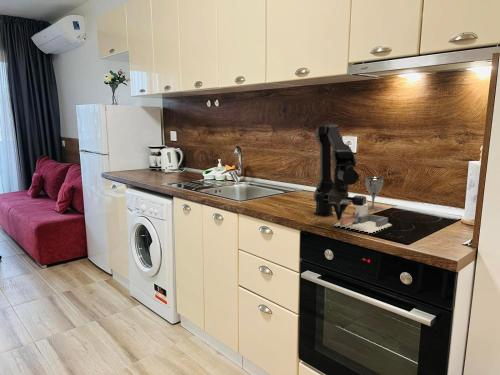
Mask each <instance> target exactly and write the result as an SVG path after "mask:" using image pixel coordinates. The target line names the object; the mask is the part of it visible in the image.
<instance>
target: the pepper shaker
mask: <svg viewBox="0 0 500 375" xmlns="http://www.w3.org/2000/svg"><path fill="white" fill-rule="evenodd" d="M364 196H365V197H366V199H367V197H368V196H366V195H364ZM368 207H369V205H368V203H366V204H364V205H363V206H359V205H355V208H356V209H355V212H358V213H359V217H360V216H363V215H366V214H369V212H368V211H369V210H368Z"/></svg>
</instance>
